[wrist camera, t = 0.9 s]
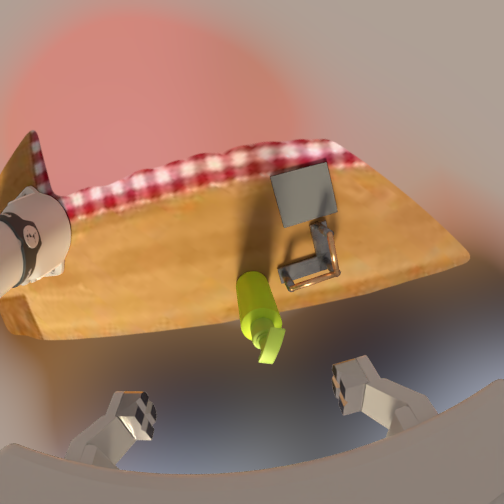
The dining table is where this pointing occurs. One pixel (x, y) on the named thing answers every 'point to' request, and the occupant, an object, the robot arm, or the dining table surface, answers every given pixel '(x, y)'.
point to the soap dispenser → (259, 315)
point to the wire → (313, 260)
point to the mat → (304, 194)
